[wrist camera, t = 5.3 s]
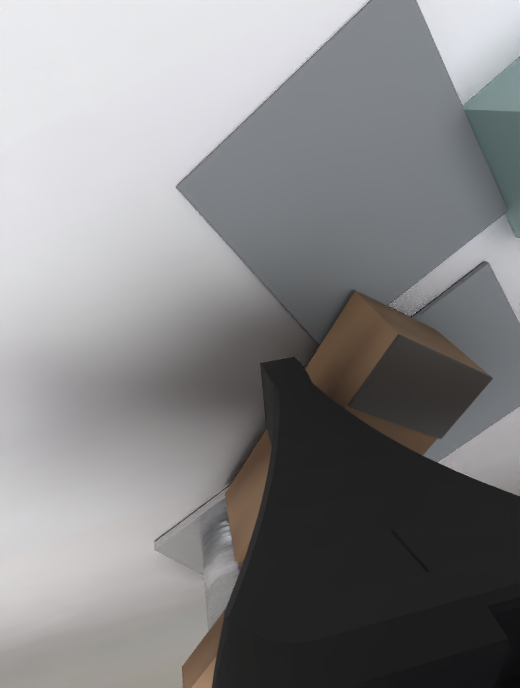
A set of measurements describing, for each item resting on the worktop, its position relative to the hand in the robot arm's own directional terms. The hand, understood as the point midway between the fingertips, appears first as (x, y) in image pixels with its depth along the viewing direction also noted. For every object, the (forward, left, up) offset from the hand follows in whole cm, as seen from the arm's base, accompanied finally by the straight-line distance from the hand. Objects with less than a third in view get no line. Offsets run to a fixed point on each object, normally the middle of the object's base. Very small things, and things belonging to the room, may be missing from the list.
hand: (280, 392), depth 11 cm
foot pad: (-5, -3, -2) cm, 6 cm away
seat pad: (+2, -4, -2) cm, 5 cm away
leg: (-3, +2, -1) cm, 4 cm away
